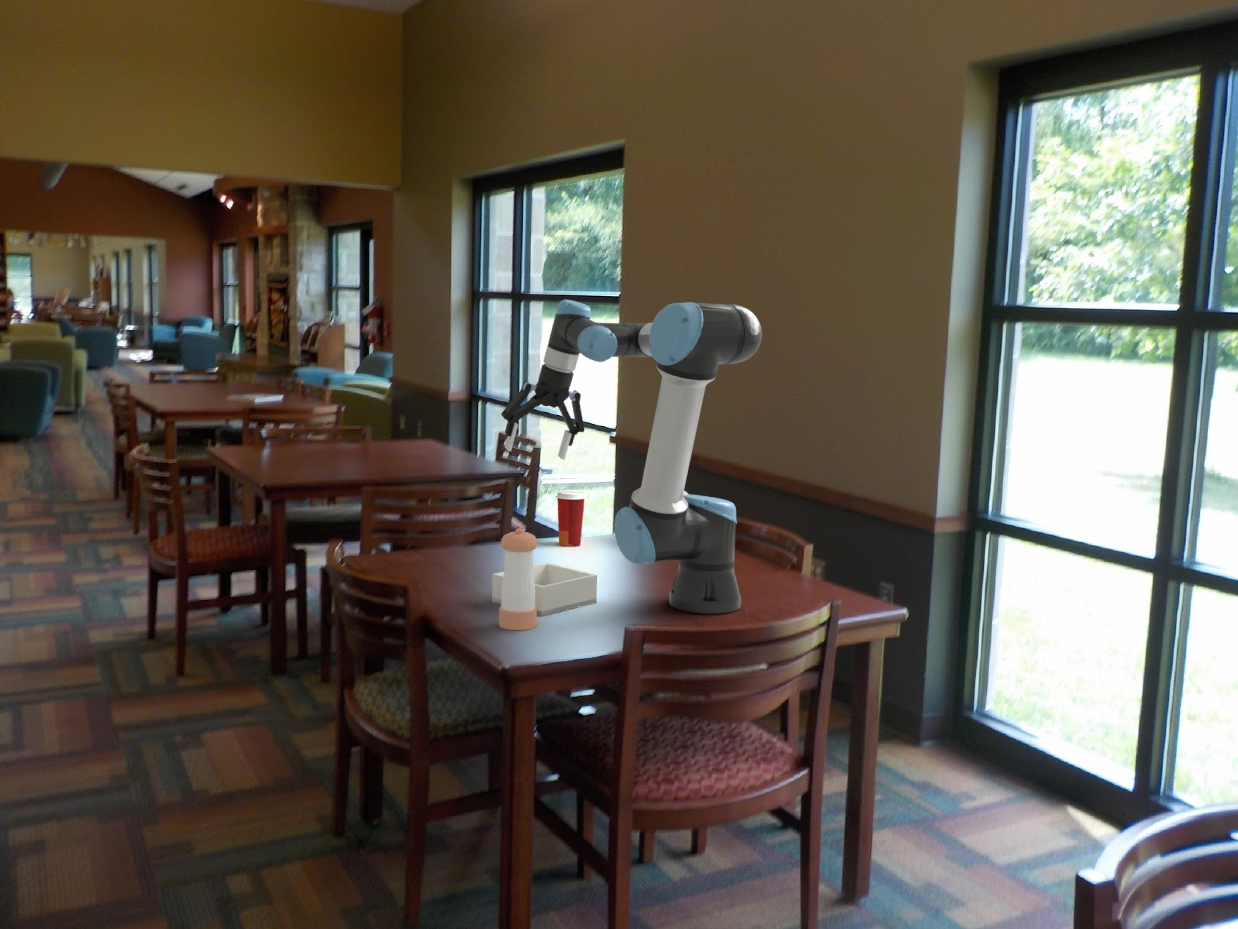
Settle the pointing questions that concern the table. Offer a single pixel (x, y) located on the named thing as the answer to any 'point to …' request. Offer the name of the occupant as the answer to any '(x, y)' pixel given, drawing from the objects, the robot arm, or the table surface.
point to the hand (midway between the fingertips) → (534, 453)
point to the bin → (555, 588)
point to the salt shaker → (518, 582)
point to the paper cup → (570, 517)
